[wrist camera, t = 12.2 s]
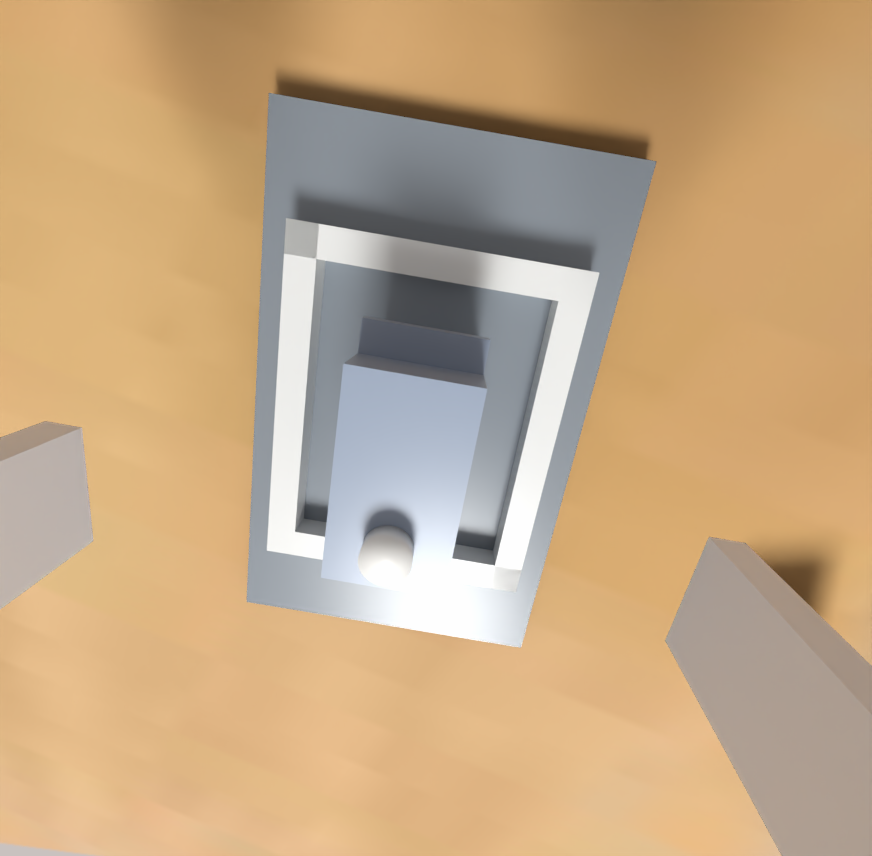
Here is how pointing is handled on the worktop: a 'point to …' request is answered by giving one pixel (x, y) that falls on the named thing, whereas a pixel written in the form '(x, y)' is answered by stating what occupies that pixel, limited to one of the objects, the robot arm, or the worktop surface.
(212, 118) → the worktop surface
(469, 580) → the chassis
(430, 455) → the servo block
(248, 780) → the worktop surface
